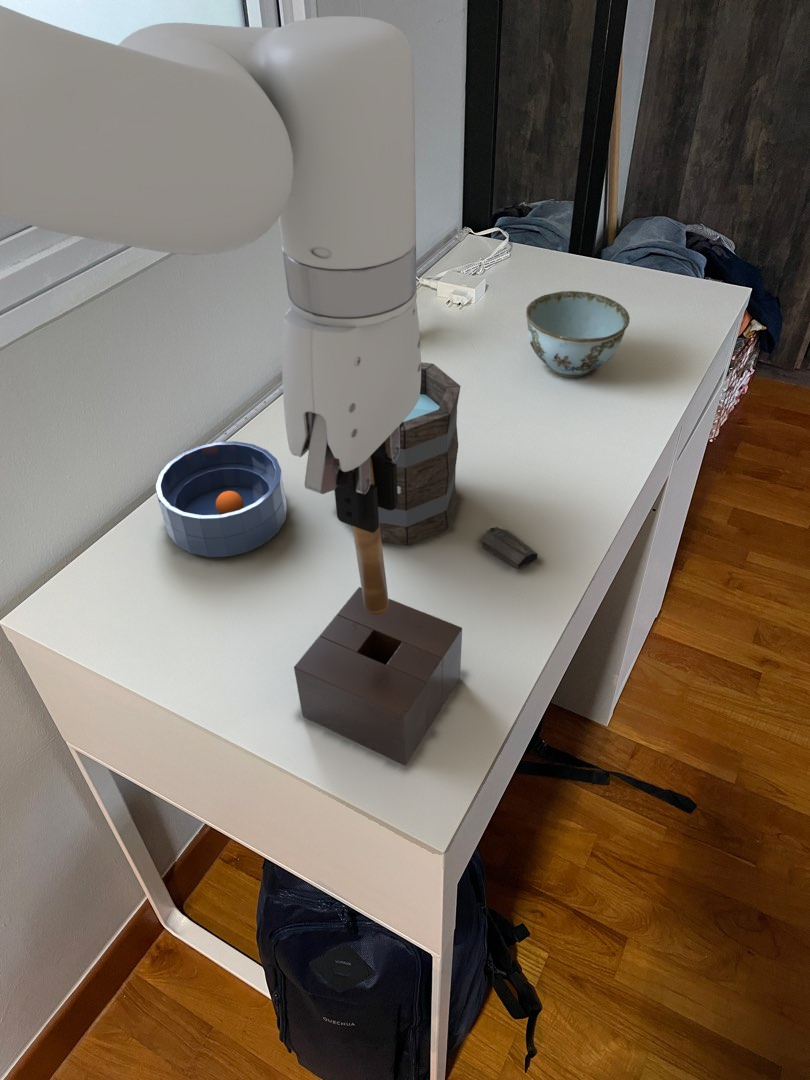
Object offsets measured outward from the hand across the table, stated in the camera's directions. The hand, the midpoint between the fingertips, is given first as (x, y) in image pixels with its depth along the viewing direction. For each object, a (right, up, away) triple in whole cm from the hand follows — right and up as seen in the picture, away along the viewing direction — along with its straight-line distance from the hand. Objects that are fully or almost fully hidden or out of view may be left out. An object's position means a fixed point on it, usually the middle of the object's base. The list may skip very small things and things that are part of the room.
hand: (367, 512), depth 60 cm
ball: (-17, +2, +31) cm, 35 cm away
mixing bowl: (-17, 0, +32) cm, 36 cm away
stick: (0, -8, +7) cm, 11 cm away
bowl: (+26, +22, +55) cm, 64 cm away
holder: (+1, -16, +14) cm, 21 cm away
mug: (0, +3, +35) cm, 35 cm away
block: (+14, -4, +28) cm, 31 cm away
